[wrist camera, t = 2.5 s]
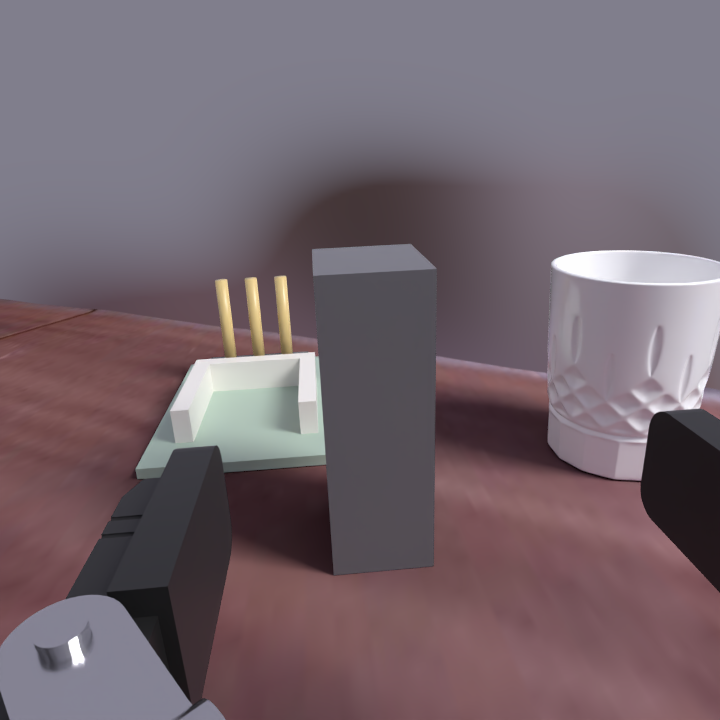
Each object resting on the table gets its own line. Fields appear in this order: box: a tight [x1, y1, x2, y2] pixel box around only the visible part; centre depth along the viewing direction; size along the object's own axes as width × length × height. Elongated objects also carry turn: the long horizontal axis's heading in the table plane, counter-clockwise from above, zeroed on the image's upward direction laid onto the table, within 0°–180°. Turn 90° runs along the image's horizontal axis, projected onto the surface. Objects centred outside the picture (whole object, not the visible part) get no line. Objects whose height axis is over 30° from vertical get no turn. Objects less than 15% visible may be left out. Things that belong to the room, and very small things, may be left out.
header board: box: [135, 276, 326, 479], centre depth 35 cm, size 15×11×8 cm
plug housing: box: [312, 244, 437, 575], centre depth 23 cm, size 5×4×12 cm
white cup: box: [547, 250, 720, 481], centre depth 29 cm, size 8×8×10 cm
